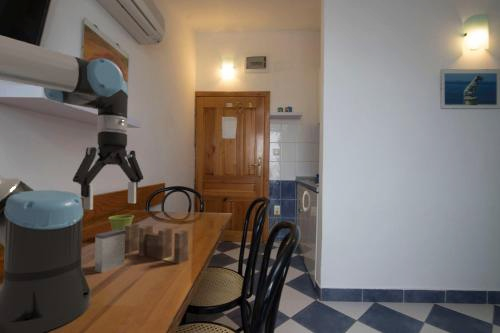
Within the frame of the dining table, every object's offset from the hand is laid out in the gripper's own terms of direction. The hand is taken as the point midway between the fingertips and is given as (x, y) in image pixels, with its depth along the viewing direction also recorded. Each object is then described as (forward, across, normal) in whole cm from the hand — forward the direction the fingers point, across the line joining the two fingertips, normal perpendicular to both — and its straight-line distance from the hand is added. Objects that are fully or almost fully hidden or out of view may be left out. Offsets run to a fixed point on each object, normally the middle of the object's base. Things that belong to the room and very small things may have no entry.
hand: (111, 206), depth 73 cm
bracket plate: (+18, 0, 0) cm, 18 cm away
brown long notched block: (+18, +13, -4) cm, 22 cm away
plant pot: (+18, +23, +25) cm, 38 cm away
